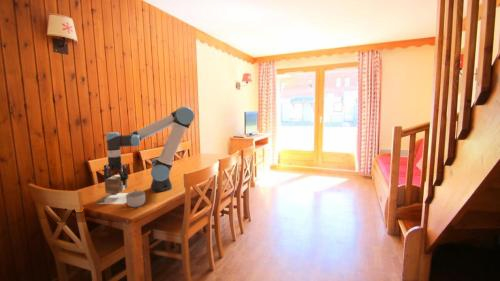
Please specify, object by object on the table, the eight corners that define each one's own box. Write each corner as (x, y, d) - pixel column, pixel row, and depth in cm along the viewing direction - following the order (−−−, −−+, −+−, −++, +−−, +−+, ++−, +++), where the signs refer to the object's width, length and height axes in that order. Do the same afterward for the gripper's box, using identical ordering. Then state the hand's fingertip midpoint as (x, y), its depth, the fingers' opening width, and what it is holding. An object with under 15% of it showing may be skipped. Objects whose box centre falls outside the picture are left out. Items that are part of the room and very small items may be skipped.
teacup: (143, 208, 152) (143, 195, 151) (124, 210, 150) (123, 197, 149) (148, 200, 166) (147, 188, 165) (130, 201, 164) (129, 189, 163)
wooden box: (115, 187, 173) (114, 174, 172) (127, 187, 173) (126, 174, 172) (105, 193, 161) (104, 179, 160) (118, 193, 161) (117, 179, 160)
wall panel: (138, 193, 178) (138, 191, 178) (124, 204, 158) (123, 201, 158) (113, 193, 178) (112, 191, 178) (95, 204, 158) (95, 201, 158)
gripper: (94, 157, 161) (97, 191, 164) (127, 157, 160) (129, 191, 163) (101, 155, 168) (104, 188, 171) (133, 155, 168) (135, 188, 171)
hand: (116, 189), depth 167 cm, fingers closed on wooden box, 8 cm apart
